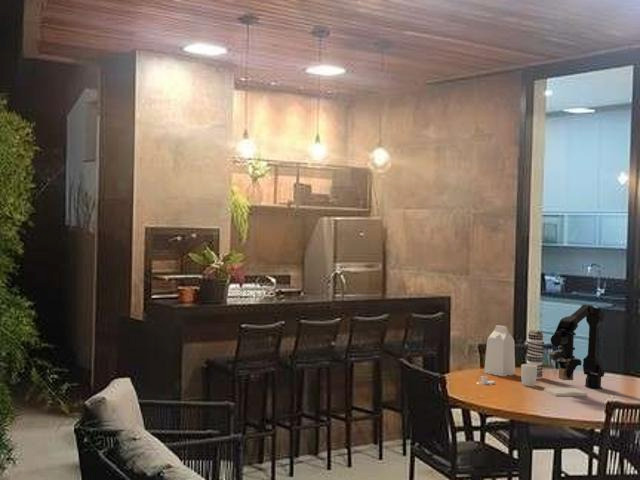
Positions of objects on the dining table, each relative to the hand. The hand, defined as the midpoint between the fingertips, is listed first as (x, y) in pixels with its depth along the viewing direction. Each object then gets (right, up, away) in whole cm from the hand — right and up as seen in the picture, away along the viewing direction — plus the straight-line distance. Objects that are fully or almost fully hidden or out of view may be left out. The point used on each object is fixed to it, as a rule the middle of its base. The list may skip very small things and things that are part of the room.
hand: (566, 377), depth 380 cm
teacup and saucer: (-34, -7, +15) cm, 38 cm away
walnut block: (0, -1, 0) cm, 1 cm away
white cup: (-13, -7, +18) cm, 24 cm away
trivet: (0, -8, 0) cm, 8 cm away
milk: (-21, -7, +48) cm, 53 cm away
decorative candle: (-5, -7, +40) cm, 41 cm away
